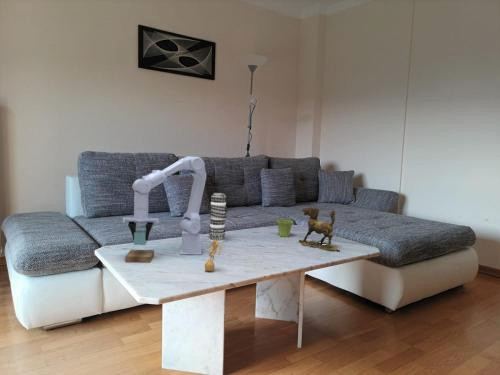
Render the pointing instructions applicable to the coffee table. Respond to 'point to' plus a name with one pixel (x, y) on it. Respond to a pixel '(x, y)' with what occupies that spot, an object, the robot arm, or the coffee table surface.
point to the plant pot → (284, 227)
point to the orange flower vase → (209, 264)
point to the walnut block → (139, 256)
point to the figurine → (319, 230)
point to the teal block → (140, 238)
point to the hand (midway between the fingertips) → (140, 239)
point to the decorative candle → (217, 217)
